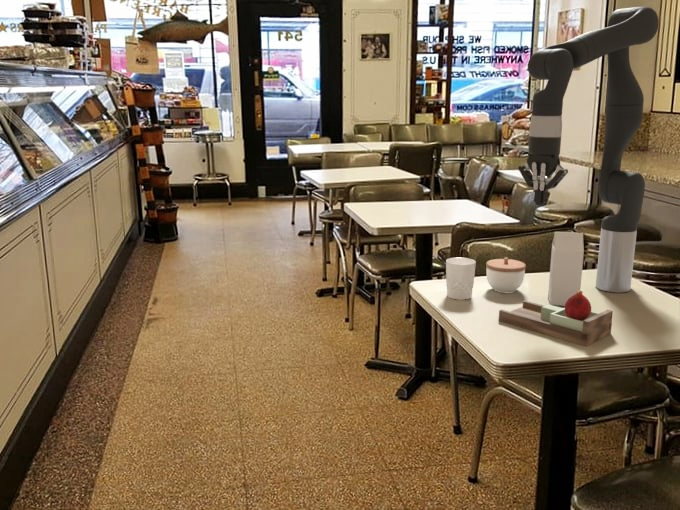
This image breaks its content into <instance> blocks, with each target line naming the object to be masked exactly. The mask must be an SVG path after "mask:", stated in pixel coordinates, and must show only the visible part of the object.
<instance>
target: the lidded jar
mask: <svg viewBox="0 0 680 510" xmlns="http://www.w3.org/2000/svg"><path fill="white" fill-rule="evenodd" d="M485 264H486V265H485V266H486V270H485V271H486V272H485V273H486V280H487V283H488V285H489V286H490V287H491V289H494V290H495V291H494V290H493V291H494V292H496V291H498V292H497V293H499V292H513V293H515V292H516V291H517V290H518V289H519V288H520V287H521V286H522V284H523V282H524V278H525V274H526V273H525V272H526V269H527V268H526V267H527V266H526V263H525V262H523V261H520V260H516V259H512V258H510V259H509V257H504V258H495V259H490V260H487V261H486V263H485ZM514 291H515V292H514Z"/></svg>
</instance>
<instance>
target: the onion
mask: <svg viewBox="0 0 680 510" xmlns="http://www.w3.org/2000/svg"><path fill="white" fill-rule="evenodd" d="M583 293H584V292H583V290H581V289H580V290H579V291H578V292H577V293H576V294H575V295H573V296H571V297H570V298H569V299H568V300H567V301H566V304H565V306H564V308H565V313H566V315H567V317H568V318H572V319H575V320H579V321H584V320H585V319H587V318H588V316H589V315H590V313H591V311H592V306H591V302H590V301H589V299H588V298H587V296H585V295H584V294H583Z"/></svg>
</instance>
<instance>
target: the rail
mask: <svg viewBox="0 0 680 510" xmlns="http://www.w3.org/2000/svg"><path fill="white" fill-rule="evenodd" d="M543 306H545V305H542V304H539V303H535V302H531V301H528V300H523V301H522V306H521V307H518V308H515V309H513V310H511V311H508V310H505V309H499V310H498V311H499V312H498V321H499V322H501V323H507V324H509V323H510V324H509V325H512V324H513V326H516V327H520V328H523V329H526V330H530V331H534V332H537V333H541V334H544V335H547V336H551V337H554V338H557V339H561V340H564V341H567V342H571V343H574V344H578V345H582V346H584V347H588V346H590V345H592V344H594V343H595V342H598V341H599V340H600V341H601V340H602V339H603V338H605V337H608V336H609V335H611V334H612V325H613V313H614V311H613V310H611V309H606V310H603V311H602V312H598V313H599V314H597V315H595V316H593V317H591V318H588V319H586V320H584V321H583V329H582V332H581V331H577V330H573V329H570V328H566V327H563V326H559V325H556V324H552V323H550V322H547V321H543V320H541V308H542V307H543Z"/></svg>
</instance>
